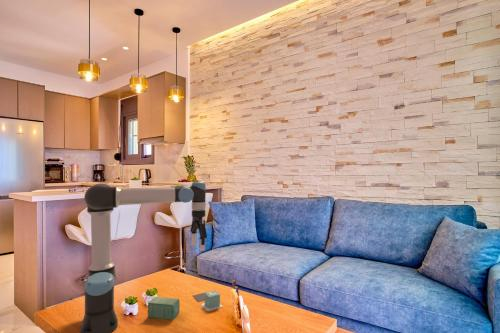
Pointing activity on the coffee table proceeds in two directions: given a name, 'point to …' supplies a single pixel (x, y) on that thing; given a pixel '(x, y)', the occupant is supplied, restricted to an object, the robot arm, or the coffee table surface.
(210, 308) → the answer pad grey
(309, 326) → the coffee table surface
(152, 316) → the box
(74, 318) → the coffee table surface
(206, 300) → the letter cube
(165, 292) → the coffee table surface
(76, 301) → the coffee table surface
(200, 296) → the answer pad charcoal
